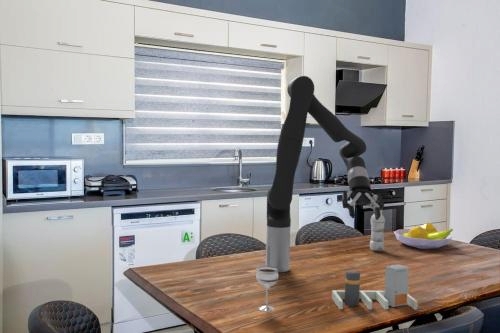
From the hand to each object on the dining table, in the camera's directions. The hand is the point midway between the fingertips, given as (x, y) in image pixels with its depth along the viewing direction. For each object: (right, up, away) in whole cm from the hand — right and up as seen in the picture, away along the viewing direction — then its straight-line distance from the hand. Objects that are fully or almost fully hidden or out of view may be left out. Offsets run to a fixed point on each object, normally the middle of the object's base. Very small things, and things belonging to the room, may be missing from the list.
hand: (365, 217), depth 160 cm
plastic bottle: (+19, -22, +56) cm, 63 cm away
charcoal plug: (-8, -25, -16) cm, 31 cm away
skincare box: (+6, -26, -15) cm, 30 cm away
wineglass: (-35, -25, -21) cm, 48 cm away
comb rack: (-1, -25, -15) cm, 30 cm away
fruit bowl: (+45, -22, +68) cm, 85 cm away
